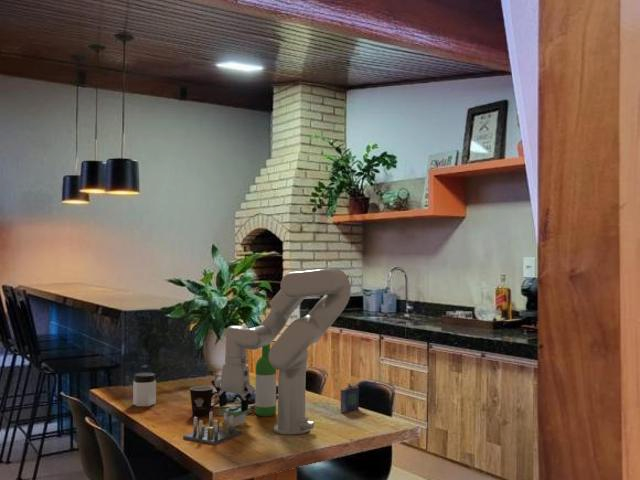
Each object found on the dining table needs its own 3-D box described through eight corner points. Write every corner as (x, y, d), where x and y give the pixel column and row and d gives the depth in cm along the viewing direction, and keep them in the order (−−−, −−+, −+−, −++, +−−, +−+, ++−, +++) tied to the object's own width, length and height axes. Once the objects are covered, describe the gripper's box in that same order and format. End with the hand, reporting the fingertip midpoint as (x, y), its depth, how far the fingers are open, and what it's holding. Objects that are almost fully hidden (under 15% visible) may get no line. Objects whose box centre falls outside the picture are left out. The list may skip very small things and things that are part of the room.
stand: (246, 422, 232) (246, 411, 232) (232, 427, 225) (232, 416, 225) (239, 421, 233) (239, 410, 233) (225, 426, 226) (225, 414, 226)
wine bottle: (251, 415, 242) (251, 335, 242) (262, 410, 248) (263, 333, 249) (268, 417, 238) (269, 336, 238) (279, 413, 245) (280, 334, 245)
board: (251, 411, 232) (251, 405, 232) (234, 417, 223) (234, 411, 223) (237, 409, 235) (237, 403, 235) (220, 415, 226) (220, 409, 226)
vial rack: (242, 433, 218) (242, 414, 218) (214, 444, 205) (214, 424, 205) (212, 427, 224) (212, 409, 224) (183, 438, 211) (183, 418, 211)
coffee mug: (184, 415, 240) (185, 389, 241) (199, 410, 248) (199, 384, 248) (209, 419, 235) (210, 392, 235) (223, 414, 243) (224, 388, 243)
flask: (343, 413, 245) (343, 385, 245) (338, 412, 247) (338, 384, 247) (360, 409, 251) (360, 382, 251) (354, 408, 253) (355, 381, 253)
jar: (145, 407, 253) (145, 377, 253) (129, 405, 256) (129, 375, 256) (159, 402, 261) (160, 373, 261) (143, 400, 264) (143, 371, 264)
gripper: (261, 362, 228) (259, 410, 228) (223, 356, 237) (221, 402, 237) (248, 365, 222) (246, 414, 222) (210, 358, 231) (207, 406, 231)
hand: (233, 408), depth 229 cm, fingers open, 9 cm apart
